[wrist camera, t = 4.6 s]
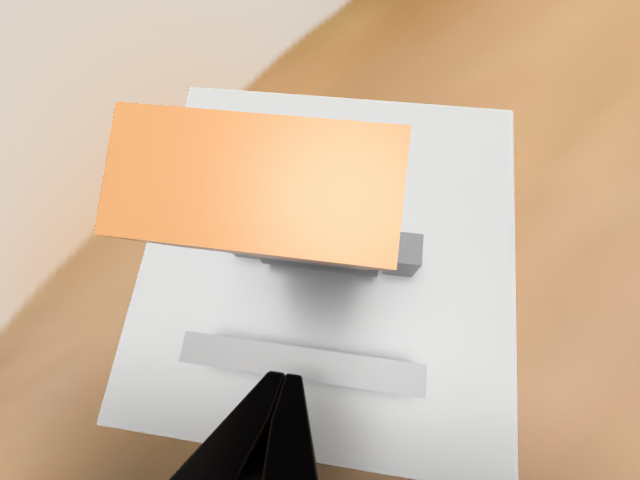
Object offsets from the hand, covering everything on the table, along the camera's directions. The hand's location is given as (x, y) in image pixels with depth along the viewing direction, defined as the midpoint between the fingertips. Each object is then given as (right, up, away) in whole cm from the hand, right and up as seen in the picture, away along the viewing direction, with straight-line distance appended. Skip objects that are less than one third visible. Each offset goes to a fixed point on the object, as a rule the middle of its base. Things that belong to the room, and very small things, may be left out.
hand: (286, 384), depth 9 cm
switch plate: (+1, +2, +9) cm, 9 cm away
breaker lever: (+1, +3, +6) cm, 7 cm away
